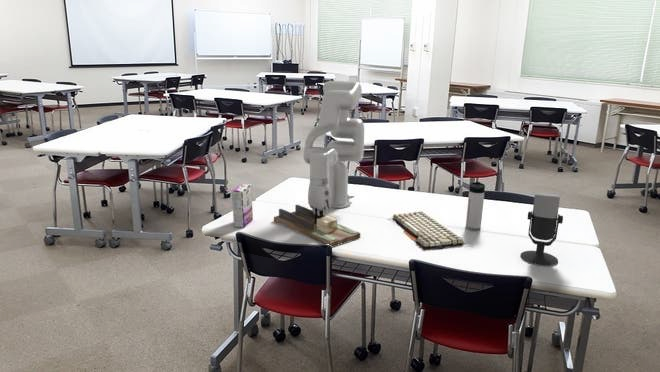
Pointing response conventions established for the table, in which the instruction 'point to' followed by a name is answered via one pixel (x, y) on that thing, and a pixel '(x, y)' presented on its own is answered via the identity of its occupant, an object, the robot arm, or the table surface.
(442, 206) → the table surface
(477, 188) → the travel mug
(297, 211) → the runway board
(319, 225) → the maple block
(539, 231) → the microphone
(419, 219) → the mechanical keyboard
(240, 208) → the candy bar box
